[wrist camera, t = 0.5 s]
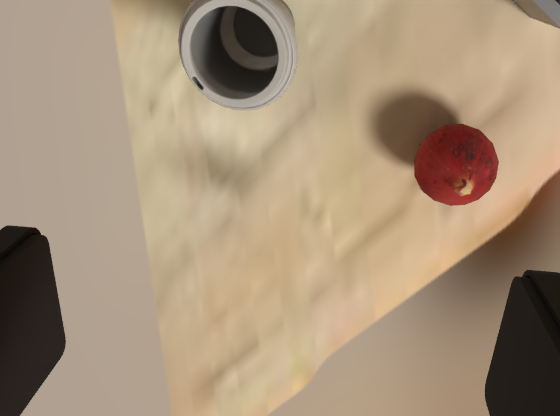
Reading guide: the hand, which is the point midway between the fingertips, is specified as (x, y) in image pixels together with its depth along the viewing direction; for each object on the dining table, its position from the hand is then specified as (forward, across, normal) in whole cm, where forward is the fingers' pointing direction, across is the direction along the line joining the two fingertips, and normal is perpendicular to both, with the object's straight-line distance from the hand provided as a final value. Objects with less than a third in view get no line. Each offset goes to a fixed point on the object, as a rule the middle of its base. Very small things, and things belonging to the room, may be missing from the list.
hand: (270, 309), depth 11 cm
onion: (+33, -10, +7) cm, 35 cm away
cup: (+33, +5, -1) cm, 33 cm away
